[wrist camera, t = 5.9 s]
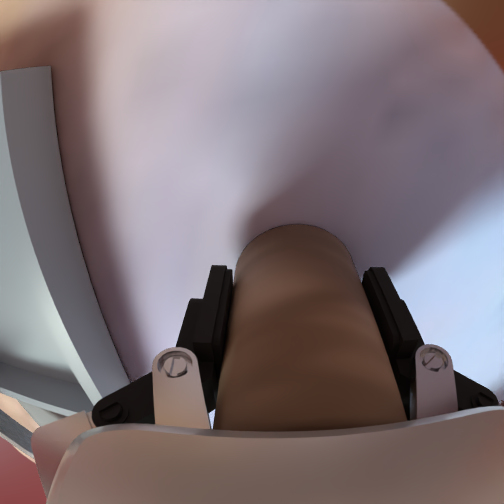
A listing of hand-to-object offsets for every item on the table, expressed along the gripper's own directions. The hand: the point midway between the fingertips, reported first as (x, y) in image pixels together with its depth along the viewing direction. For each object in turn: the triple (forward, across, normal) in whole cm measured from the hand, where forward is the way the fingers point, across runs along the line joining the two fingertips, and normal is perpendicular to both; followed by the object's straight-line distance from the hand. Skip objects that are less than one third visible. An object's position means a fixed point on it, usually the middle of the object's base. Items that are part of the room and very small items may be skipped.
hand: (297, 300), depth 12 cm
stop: (+2, 0, 0) cm, 2 cm away
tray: (+1, +16, 0) cm, 16 cm away
